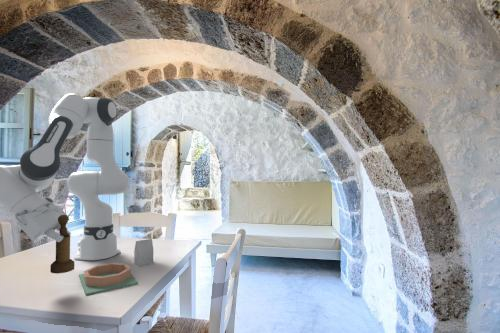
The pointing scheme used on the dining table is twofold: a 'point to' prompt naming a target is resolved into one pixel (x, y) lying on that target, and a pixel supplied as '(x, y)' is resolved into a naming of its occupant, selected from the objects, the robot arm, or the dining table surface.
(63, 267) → the brown wooden chess piece
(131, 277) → the green mat
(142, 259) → the tea bag
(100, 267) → the pink octagonal ring
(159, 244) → the dining table surface
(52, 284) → the dining table surface
